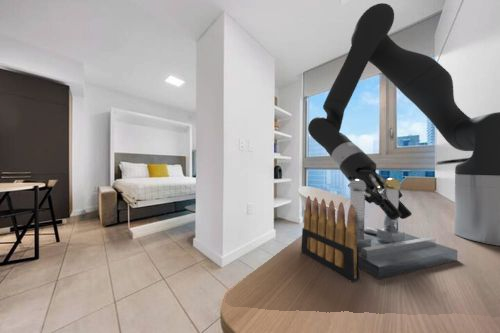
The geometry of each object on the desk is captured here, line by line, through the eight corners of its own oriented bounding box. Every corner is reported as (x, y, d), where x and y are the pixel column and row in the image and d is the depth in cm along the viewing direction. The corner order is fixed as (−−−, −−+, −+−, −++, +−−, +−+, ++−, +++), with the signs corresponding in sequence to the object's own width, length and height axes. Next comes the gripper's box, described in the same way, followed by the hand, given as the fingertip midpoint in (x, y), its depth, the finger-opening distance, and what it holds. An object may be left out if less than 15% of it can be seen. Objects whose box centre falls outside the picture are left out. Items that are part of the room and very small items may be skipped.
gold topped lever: (372, 229, 43) (373, 176, 43) (404, 241, 36) (405, 178, 36) (360, 230, 41) (361, 176, 41) (391, 243, 35) (393, 178, 35)
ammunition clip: (300, 251, 35) (302, 195, 35) (306, 249, 36) (308, 194, 36) (353, 282, 26) (354, 206, 26) (359, 279, 27) (361, 205, 27)
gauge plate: (386, 234, 46) (387, 223, 46) (457, 260, 33) (457, 244, 33) (321, 243, 39) (321, 230, 39) (378, 279, 27) (379, 259, 27)
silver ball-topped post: (341, 234, 40) (343, 177, 40) (370, 248, 33) (372, 179, 33) (328, 236, 38) (329, 177, 38) (355, 251, 32) (357, 179, 32)
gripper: (340, 149, 42) (394, 209, 30) (379, 152, 46) (440, 206, 34) (324, 170, 47) (365, 228, 35) (361, 171, 51) (408, 223, 39)
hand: (402, 217), depth 35 cm, fingers closed on gold topped lever, 2 cm apart
